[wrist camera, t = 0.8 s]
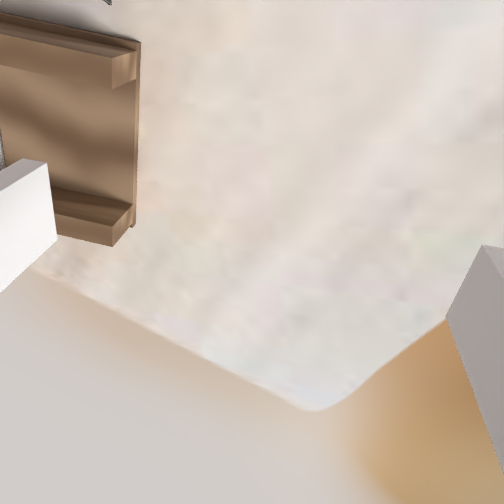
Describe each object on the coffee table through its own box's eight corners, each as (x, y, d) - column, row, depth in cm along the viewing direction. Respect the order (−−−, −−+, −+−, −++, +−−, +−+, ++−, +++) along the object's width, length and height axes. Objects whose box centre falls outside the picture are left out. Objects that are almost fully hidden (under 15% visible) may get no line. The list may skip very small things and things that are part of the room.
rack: (-11, 9, 32) (-63, 11, 28) (140, 42, 32) (111, 50, 27) (16, 196, 41) (-21, 220, 36) (135, 224, 40) (112, 251, 36)
